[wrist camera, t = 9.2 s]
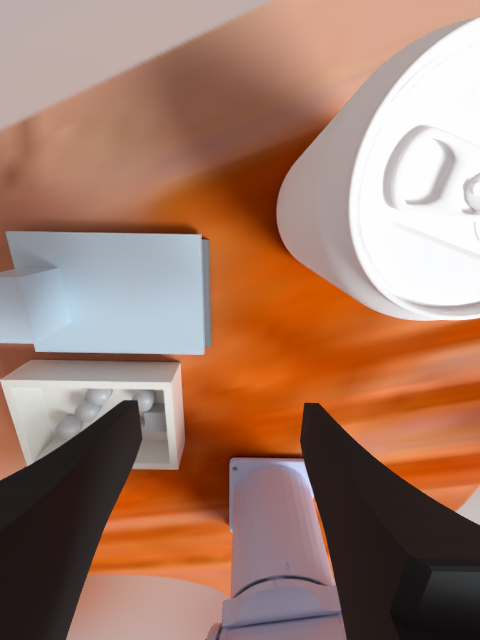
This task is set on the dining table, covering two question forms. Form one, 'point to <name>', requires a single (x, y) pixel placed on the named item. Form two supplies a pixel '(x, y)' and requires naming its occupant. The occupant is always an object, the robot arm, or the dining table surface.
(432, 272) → the beverage can
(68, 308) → the lid
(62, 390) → the tub
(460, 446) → the dining table surface
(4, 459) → the dining table surface
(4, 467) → the dining table surface
